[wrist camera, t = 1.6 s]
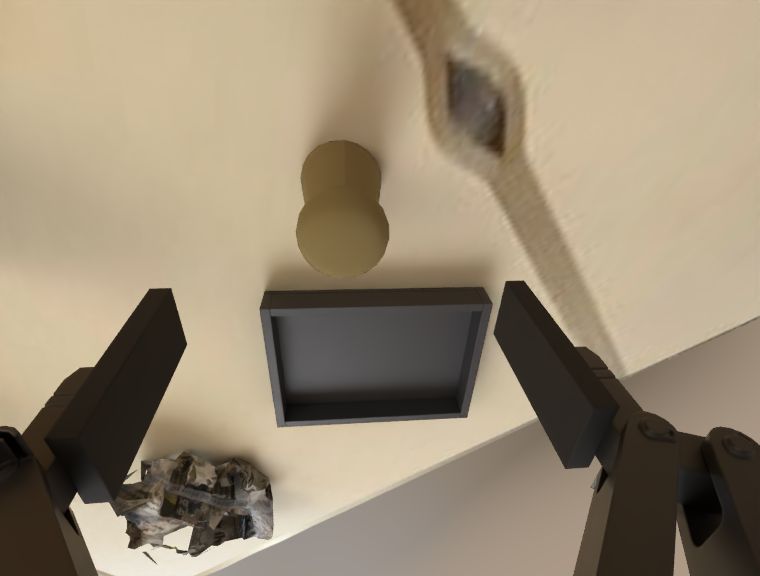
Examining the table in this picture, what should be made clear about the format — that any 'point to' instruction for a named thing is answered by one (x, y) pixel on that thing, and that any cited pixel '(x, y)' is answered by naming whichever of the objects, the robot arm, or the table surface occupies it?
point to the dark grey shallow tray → (373, 353)
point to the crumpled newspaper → (196, 503)
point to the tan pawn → (341, 211)
